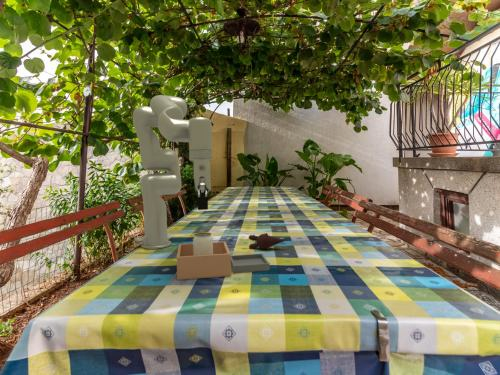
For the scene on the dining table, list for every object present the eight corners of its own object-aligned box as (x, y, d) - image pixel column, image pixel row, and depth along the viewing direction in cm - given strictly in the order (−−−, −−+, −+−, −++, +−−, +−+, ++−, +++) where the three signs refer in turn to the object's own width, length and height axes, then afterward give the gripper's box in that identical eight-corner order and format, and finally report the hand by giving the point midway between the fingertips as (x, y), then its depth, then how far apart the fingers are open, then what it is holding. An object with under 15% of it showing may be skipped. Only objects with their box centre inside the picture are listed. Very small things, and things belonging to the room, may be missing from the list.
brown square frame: (177, 279, 98) (176, 257, 97) (179, 263, 114) (179, 244, 113) (230, 275, 100) (230, 254, 100) (225, 260, 117) (225, 241, 116)
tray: (233, 273, 103) (233, 266, 103) (229, 261, 115) (229, 255, 115) (269, 270, 105) (269, 263, 105) (262, 259, 117) (262, 253, 117)
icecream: (285, 232, 133) (250, 234, 137) (282, 231, 126) (246, 233, 130) (286, 249, 132) (251, 250, 136) (283, 249, 125) (246, 250, 129)
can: (209, 272, 103) (208, 236, 103) (191, 271, 105) (190, 236, 104) (215, 266, 110) (215, 232, 109) (198, 265, 111) (197, 231, 110)
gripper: (214, 154, 96) (215, 210, 98) (211, 156, 113) (212, 204, 115) (188, 155, 95) (190, 211, 96) (189, 157, 112) (191, 205, 113)
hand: (202, 207), depth 105 cm, fingers open, 9 cm apart
